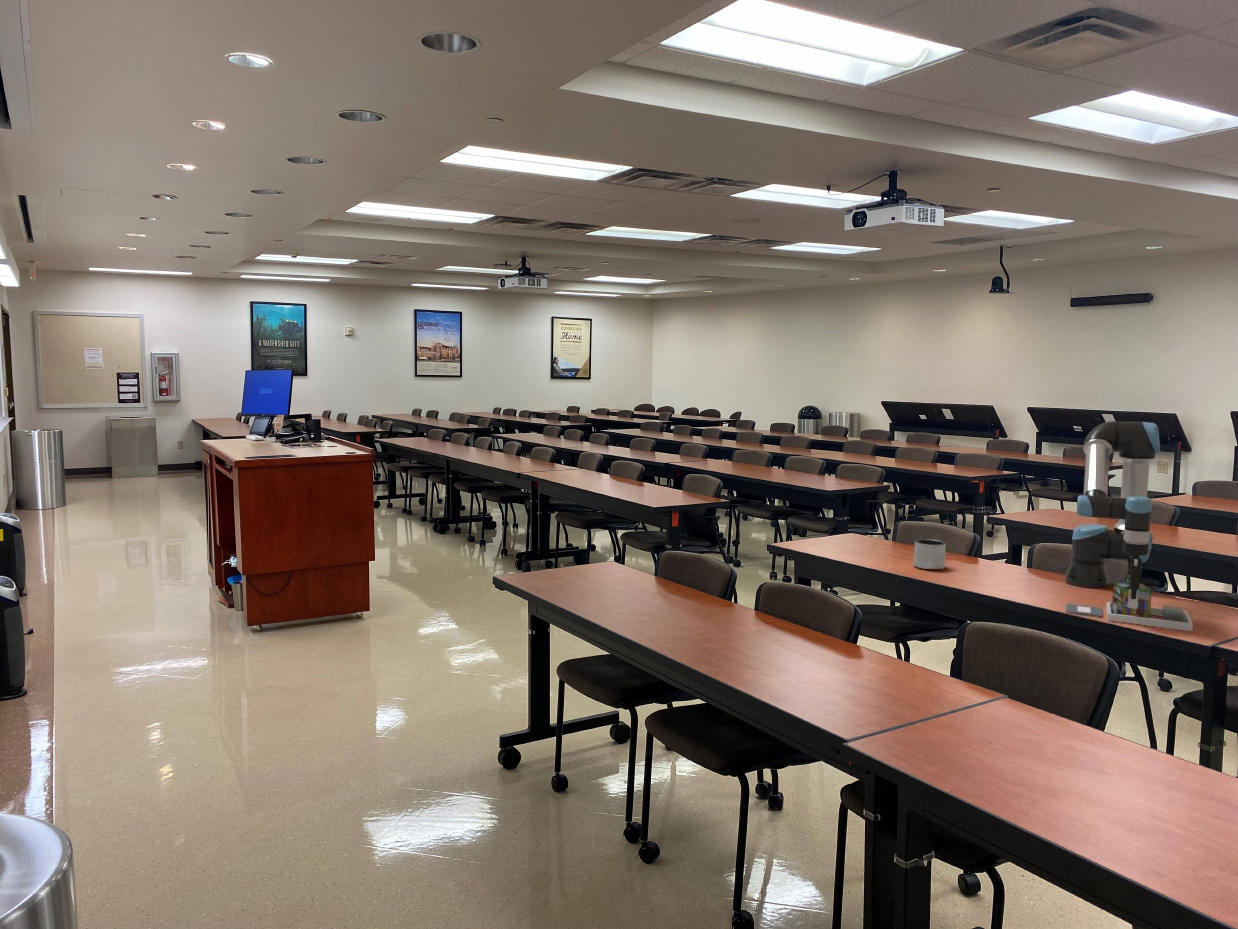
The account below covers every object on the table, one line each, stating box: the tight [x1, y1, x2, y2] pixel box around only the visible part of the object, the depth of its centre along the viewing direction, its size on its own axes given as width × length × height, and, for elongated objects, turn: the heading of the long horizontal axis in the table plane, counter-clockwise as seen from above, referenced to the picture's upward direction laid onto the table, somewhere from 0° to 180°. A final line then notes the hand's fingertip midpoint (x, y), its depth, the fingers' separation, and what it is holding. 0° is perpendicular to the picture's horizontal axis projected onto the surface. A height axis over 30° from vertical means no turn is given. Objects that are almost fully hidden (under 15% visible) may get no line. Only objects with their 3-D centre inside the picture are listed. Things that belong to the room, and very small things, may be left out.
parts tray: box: [1105, 601, 1194, 632], centre depth 287 cm, size 16×24×2 cm, turn 61°
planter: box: [913, 538, 946, 570], centre depth 360 cm, size 13×12×11 cm
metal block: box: [1161, 605, 1183, 622], centre depth 284 cm, size 5×5×5 cm
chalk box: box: [1111, 573, 1153, 618], centre depth 289 cm, size 9×9×15 cm
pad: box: [1065, 603, 1103, 618], centre depth 297 cm, size 11×11×1 cm
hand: (1131, 603), depth 289 cm, fingers open, 13 cm apart
